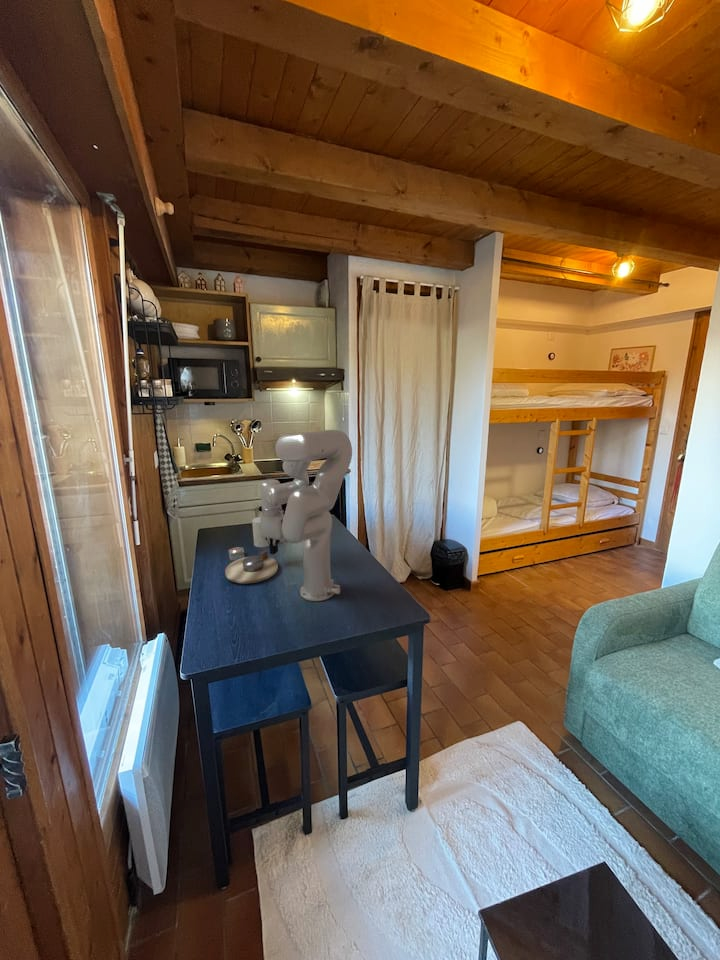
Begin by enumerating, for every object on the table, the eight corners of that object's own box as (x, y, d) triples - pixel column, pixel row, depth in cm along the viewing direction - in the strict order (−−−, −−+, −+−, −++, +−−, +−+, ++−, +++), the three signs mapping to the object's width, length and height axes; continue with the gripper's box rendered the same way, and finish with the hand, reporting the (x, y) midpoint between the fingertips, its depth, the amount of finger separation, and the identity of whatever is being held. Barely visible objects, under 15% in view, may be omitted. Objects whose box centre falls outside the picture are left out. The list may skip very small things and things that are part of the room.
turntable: (287, 563, 156) (286, 553, 154) (257, 587, 138) (256, 576, 137) (247, 555, 163) (246, 546, 162) (214, 577, 145) (213, 567, 144)
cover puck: (268, 564, 152) (267, 557, 151) (255, 573, 145) (255, 566, 144) (251, 561, 155) (251, 554, 154) (238, 570, 148) (238, 563, 147)
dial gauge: (243, 553, 167) (242, 545, 166) (244, 558, 163) (244, 550, 162) (229, 555, 165) (228, 547, 164) (230, 560, 161) (229, 552, 160)
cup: (250, 545, 176) (248, 520, 173) (262, 538, 183) (260, 515, 180) (263, 548, 172) (261, 523, 169) (275, 542, 179) (273, 518, 176)
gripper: (293, 510, 150) (294, 552, 155) (261, 505, 155) (264, 545, 160) (282, 516, 143) (284, 560, 148) (250, 511, 149) (253, 553, 154)
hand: (273, 552), depth 154 cm, fingers closed
